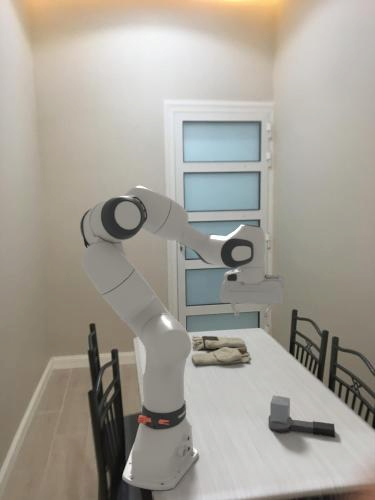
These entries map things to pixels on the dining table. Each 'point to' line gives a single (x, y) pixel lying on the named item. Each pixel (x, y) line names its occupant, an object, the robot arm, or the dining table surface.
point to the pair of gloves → (221, 355)
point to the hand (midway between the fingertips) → (251, 316)
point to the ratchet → (304, 427)
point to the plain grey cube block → (280, 410)
